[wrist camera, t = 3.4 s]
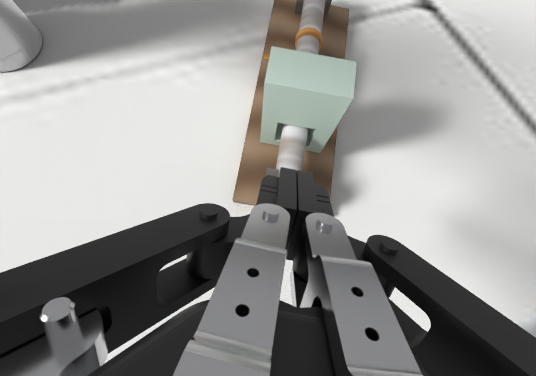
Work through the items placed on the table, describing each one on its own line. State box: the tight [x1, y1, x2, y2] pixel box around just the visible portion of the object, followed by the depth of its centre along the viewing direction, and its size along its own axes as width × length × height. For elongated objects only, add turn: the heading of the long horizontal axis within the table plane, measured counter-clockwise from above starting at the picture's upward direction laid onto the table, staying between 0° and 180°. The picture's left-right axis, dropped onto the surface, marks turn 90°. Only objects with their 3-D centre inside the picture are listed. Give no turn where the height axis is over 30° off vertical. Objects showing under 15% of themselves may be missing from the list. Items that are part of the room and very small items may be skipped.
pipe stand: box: [233, 0, 349, 206], centre depth 36 cm, size 34×12×7 cm, turn 171°
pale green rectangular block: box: [260, 46, 357, 153], centre depth 30 cm, size 4×8×12 cm, turn 81°
